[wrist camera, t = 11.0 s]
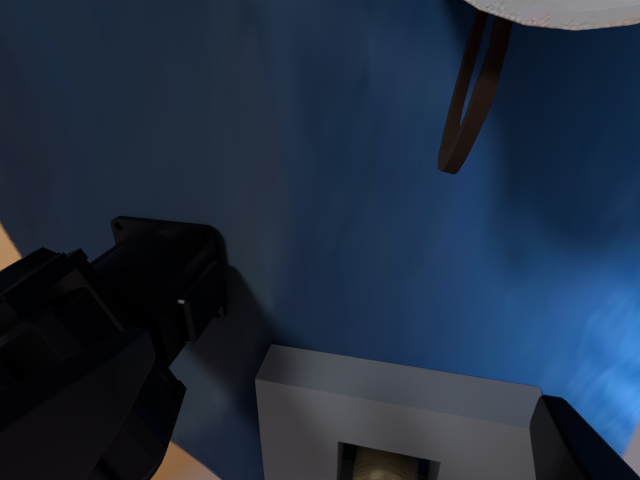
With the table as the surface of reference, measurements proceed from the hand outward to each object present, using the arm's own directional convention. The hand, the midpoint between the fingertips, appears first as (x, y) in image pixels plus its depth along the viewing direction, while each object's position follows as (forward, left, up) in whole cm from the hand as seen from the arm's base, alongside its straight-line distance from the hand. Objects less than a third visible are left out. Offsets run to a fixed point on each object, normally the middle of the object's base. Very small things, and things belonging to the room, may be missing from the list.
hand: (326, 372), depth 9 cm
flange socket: (+2, -18, -12) cm, 22 cm away
